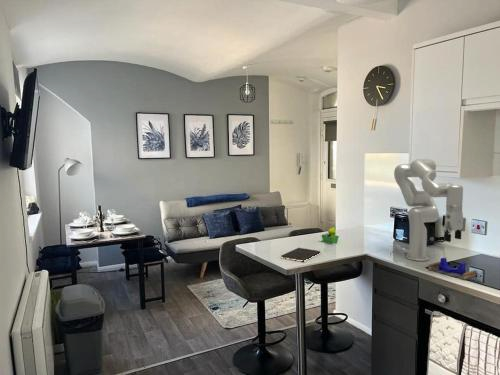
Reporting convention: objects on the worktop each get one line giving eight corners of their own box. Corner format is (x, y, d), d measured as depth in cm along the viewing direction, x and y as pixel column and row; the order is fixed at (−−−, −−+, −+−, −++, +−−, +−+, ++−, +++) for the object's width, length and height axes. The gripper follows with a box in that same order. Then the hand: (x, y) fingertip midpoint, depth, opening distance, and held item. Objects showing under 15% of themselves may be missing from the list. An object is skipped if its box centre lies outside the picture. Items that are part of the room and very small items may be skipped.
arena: (428, 270, 208) (428, 264, 208) (439, 266, 214) (440, 261, 214) (465, 280, 191) (465, 274, 191) (476, 276, 197) (476, 270, 197)
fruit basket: (320, 241, 276) (320, 226, 275) (329, 240, 281) (329, 225, 280) (331, 245, 267) (332, 229, 266) (340, 243, 272) (340, 227, 271)
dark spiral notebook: (280, 259, 236) (280, 255, 235) (298, 250, 254) (298, 247, 254) (303, 263, 226) (303, 259, 226) (320, 254, 245) (320, 251, 245)
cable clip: (438, 269, 207) (438, 258, 206) (443, 268, 209) (443, 257, 209) (460, 275, 197) (460, 264, 196) (465, 274, 199) (465, 262, 199)
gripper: (451, 210, 192) (450, 243, 193) (470, 207, 201) (468, 239, 203) (437, 209, 198) (436, 241, 200) (456, 205, 207) (454, 236, 209)
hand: (452, 240), depth 201 cm, fingers open, 9 cm apart
